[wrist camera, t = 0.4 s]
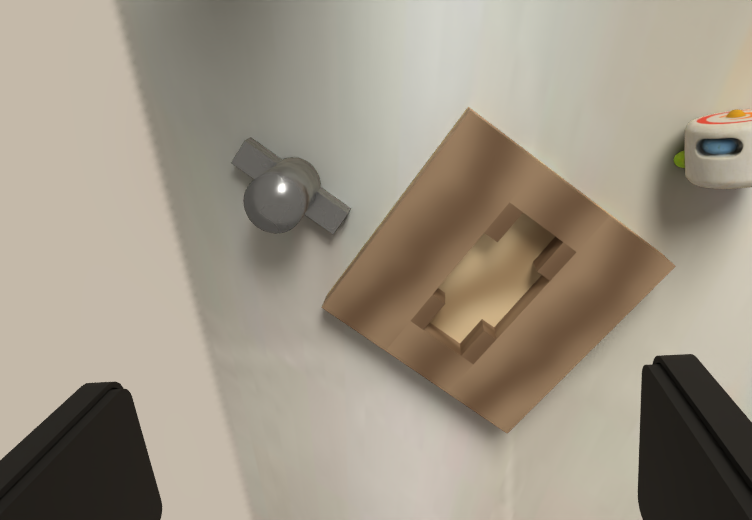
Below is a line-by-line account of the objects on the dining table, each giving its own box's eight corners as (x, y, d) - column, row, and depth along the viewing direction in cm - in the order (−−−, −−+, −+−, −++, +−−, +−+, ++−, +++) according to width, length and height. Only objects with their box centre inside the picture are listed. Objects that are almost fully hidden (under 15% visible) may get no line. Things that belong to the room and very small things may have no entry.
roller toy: (666, 113, 40) (703, 124, 34) (768, 96, 39) (821, 104, 33) (668, 177, 41) (703, 197, 36) (766, 161, 40) (817, 180, 35)
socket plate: (327, 294, 47) (321, 307, 44) (468, 106, 41) (470, 110, 38) (503, 415, 49) (507, 433, 47) (662, 254, 43) (675, 266, 41)
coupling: (231, 169, 44) (200, 188, 38) (257, 126, 43) (230, 138, 37) (329, 238, 45) (313, 265, 40) (358, 198, 44) (346, 220, 38)
